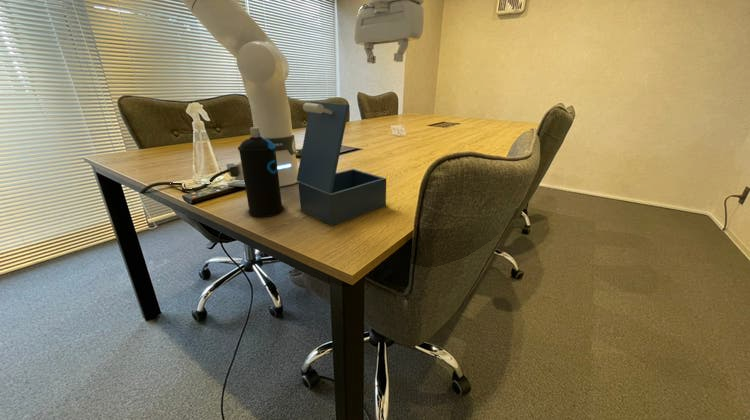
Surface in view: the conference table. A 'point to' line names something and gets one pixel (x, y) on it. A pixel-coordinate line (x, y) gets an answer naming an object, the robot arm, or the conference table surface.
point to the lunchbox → (344, 197)
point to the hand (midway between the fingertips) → (384, 62)
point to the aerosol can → (260, 175)
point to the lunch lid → (322, 144)
